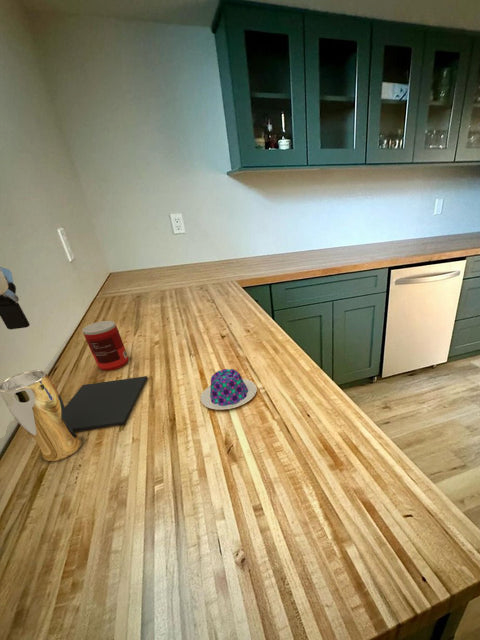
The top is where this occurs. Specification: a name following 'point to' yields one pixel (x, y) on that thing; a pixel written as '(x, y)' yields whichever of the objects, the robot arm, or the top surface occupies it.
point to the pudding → (228, 390)
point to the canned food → (106, 345)
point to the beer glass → (40, 413)
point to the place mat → (103, 403)
